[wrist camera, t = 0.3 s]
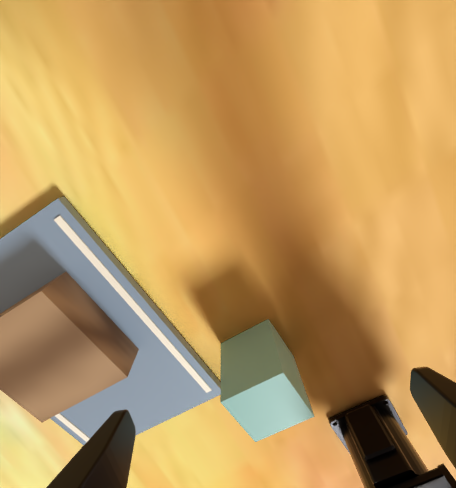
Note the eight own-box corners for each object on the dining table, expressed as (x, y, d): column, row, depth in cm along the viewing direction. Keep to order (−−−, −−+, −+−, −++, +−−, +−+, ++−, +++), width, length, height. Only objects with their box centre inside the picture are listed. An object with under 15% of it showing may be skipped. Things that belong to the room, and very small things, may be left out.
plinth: (138, 349, 23) (127, 377, 20) (62, 390, 25) (41, 422, 22) (66, 271, 20) (41, 291, 18) (-16, 323, 22) (-51, 349, 19)
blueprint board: (223, 385, 26) (223, 393, 25) (98, 446, 29) (94, 455, 28) (64, 196, 19) (57, 198, 18) (-81, 298, 22) (-93, 304, 21)
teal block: (293, 355, 25) (314, 416, 19) (247, 377, 26) (255, 442, 20) (268, 318, 23) (283, 372, 18) (220, 343, 24) (220, 402, 19)
